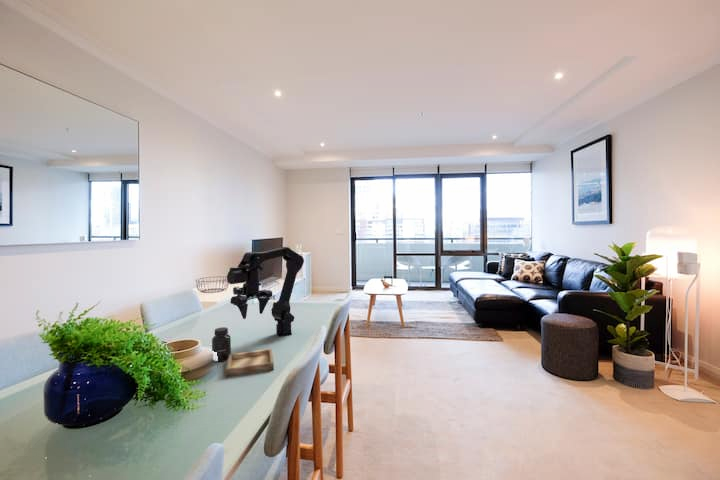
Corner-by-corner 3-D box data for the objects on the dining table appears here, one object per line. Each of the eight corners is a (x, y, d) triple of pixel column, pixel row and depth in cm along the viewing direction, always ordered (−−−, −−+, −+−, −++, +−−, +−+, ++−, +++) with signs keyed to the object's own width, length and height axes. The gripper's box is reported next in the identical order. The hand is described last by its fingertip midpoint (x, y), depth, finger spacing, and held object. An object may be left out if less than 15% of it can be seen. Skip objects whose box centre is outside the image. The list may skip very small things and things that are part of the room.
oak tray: (271, 354, 127) (271, 348, 127) (273, 369, 114) (273, 363, 114) (229, 360, 122) (229, 354, 122) (226, 377, 109) (225, 370, 109)
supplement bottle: (219, 364, 119) (218, 333, 119) (208, 360, 123) (207, 330, 122) (234, 357, 125) (233, 327, 124) (224, 353, 129) (223, 325, 128)
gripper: (255, 276, 149) (256, 309, 149) (221, 282, 133) (222, 319, 133) (273, 278, 143) (273, 312, 144) (239, 285, 127) (240, 322, 128)
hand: (252, 316), depth 137 cm, fingers open, 9 cm apart
